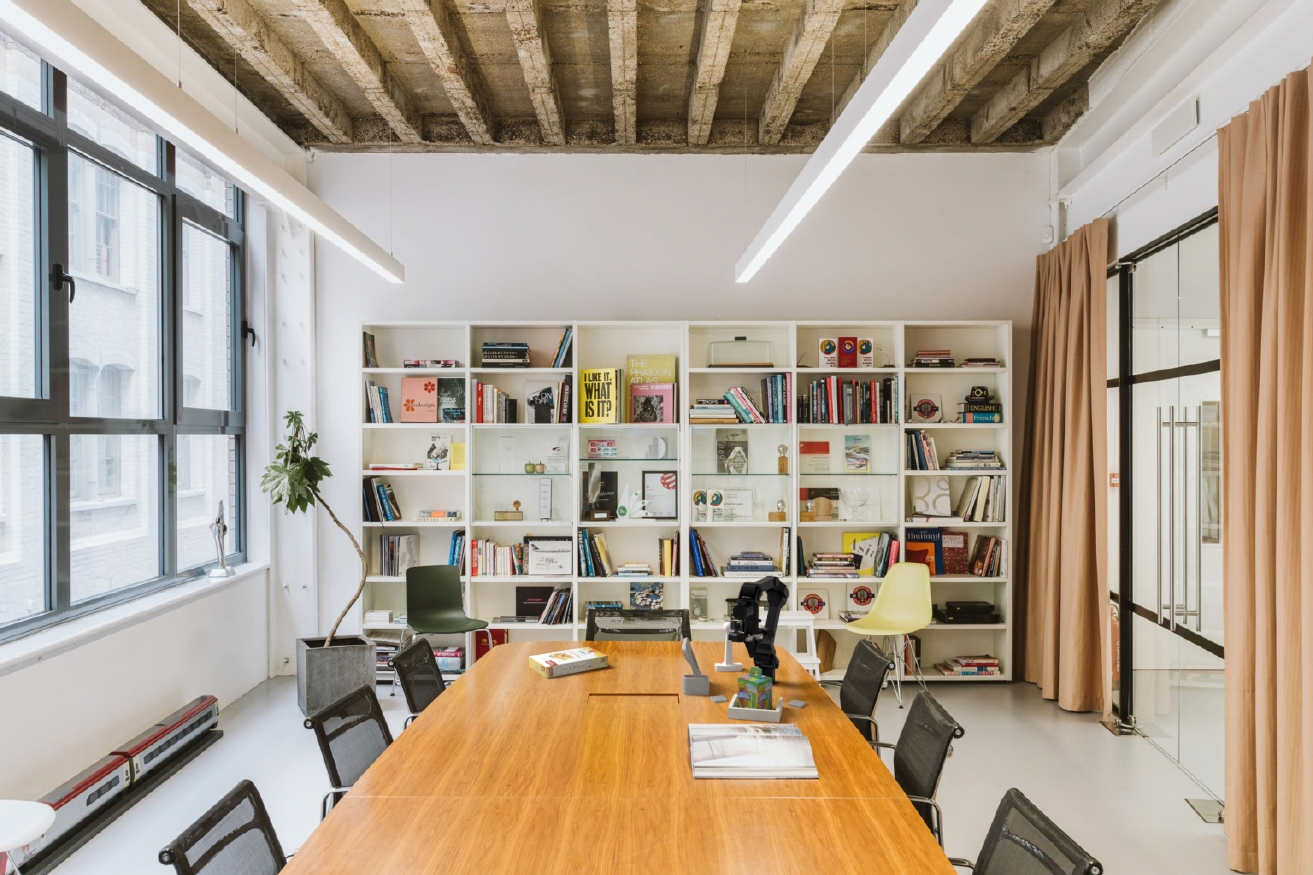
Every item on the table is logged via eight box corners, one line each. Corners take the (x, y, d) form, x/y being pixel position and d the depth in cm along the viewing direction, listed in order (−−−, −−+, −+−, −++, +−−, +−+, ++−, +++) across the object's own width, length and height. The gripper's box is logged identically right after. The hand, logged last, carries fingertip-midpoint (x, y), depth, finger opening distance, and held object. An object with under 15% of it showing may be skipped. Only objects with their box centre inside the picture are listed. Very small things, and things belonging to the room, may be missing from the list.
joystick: (716, 671, 316) (715, 623, 316) (713, 666, 324) (713, 618, 324) (743, 671, 317) (742, 622, 317) (739, 665, 324) (739, 618, 324)
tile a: (793, 702, 279) (793, 699, 279) (806, 705, 277) (806, 702, 277) (787, 707, 275) (787, 703, 275) (800, 709, 273) (800, 706, 273)
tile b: (722, 698, 285) (722, 695, 285) (727, 702, 280) (727, 699, 280) (710, 699, 284) (710, 696, 284) (715, 704, 279) (715, 700, 279)
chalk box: (736, 710, 271) (736, 668, 271) (751, 704, 277) (751, 663, 277) (758, 716, 264) (758, 673, 264) (773, 709, 271) (773, 667, 271)
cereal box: (608, 654, 324) (546, 665, 309) (609, 667, 323) (546, 679, 309) (587, 645, 341) (527, 654, 326) (587, 657, 341) (528, 667, 326)
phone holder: (708, 695, 287) (708, 647, 287) (681, 695, 288) (681, 647, 288) (709, 681, 304) (709, 635, 304) (684, 680, 305) (683, 635, 305)
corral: (734, 703, 278) (734, 693, 278) (783, 707, 274) (783, 697, 274) (727, 718, 263) (727, 707, 263) (779, 722, 259) (779, 711, 259)
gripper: (755, 610, 302) (755, 650, 302) (718, 614, 292) (718, 656, 291) (775, 614, 293) (775, 656, 293) (738, 619, 283) (737, 662, 282)
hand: (751, 657), depth 290 cm, fingers closed
